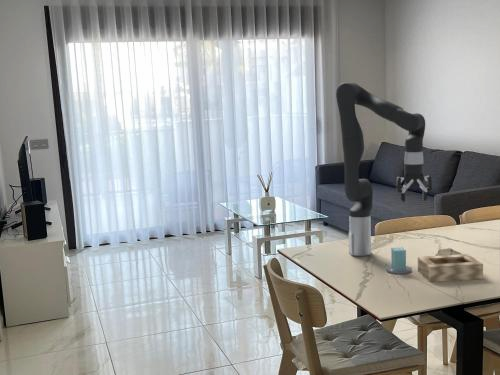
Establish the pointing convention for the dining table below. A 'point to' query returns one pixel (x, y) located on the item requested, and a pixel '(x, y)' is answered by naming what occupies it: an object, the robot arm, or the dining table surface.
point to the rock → (447, 252)
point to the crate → (450, 268)
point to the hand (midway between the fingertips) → (413, 201)
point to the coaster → (391, 270)
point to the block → (398, 258)
